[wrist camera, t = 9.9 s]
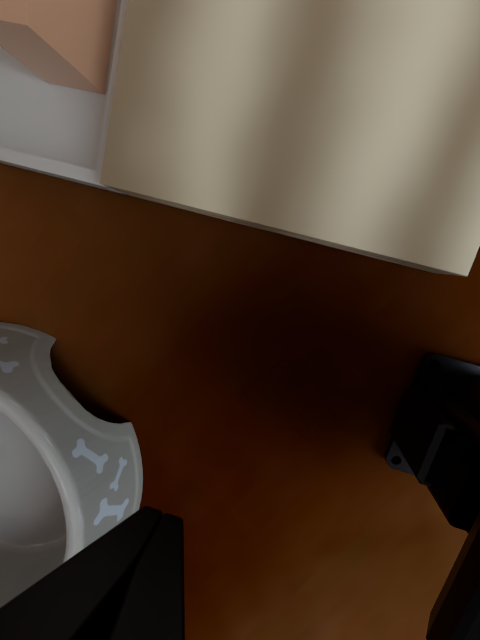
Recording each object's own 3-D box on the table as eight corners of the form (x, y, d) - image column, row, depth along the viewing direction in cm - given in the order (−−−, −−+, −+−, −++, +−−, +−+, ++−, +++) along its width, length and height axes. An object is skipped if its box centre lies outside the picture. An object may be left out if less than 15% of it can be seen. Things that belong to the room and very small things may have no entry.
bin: (180, -127, 15) (164, -185, 13) (125, 194, 18) (105, 186, 16) (-7, -156, 16) (-49, -215, 14) (-31, 155, 19) (-68, 143, 17)
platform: (563, -68, 13) (640, -159, 10) (435, 273, 16) (467, 276, 13) (187, -126, 15) (162, -220, 12) (131, 196, 18) (99, 183, 15)
